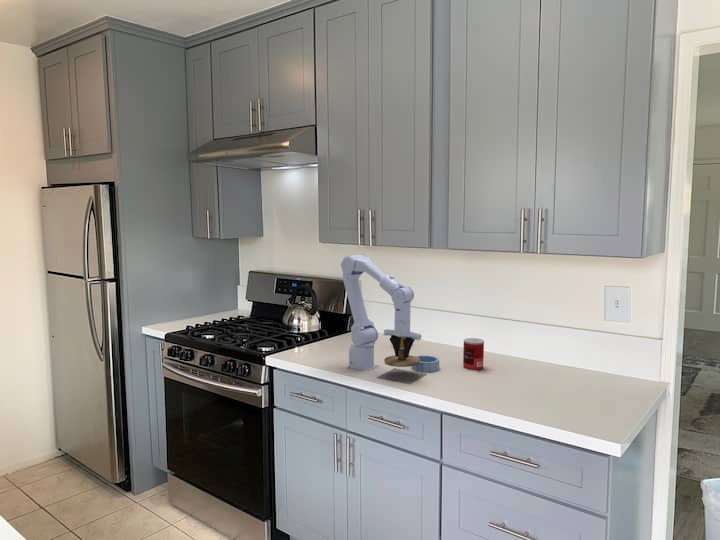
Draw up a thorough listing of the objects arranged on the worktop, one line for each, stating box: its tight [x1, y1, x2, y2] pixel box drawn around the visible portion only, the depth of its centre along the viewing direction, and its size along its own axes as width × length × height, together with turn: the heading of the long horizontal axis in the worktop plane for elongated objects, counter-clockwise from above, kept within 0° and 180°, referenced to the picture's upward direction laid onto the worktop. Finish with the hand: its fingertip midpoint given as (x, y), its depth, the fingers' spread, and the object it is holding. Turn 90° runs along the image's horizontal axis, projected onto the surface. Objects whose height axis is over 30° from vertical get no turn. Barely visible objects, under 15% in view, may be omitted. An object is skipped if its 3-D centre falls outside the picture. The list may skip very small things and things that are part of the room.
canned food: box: [462, 337, 485, 371], centre depth 213 cm, size 8×8×11 cm
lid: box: [383, 348, 420, 368], centre depth 201 cm, size 13×13×5 cm
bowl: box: [411, 354, 440, 373], centre depth 211 cm, size 10×10×4 cm
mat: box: [376, 367, 428, 385], centre depth 202 cm, size 14×14×1 cm
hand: (402, 356), depth 201 cm, fingers closed on lid, 3 cm apart
